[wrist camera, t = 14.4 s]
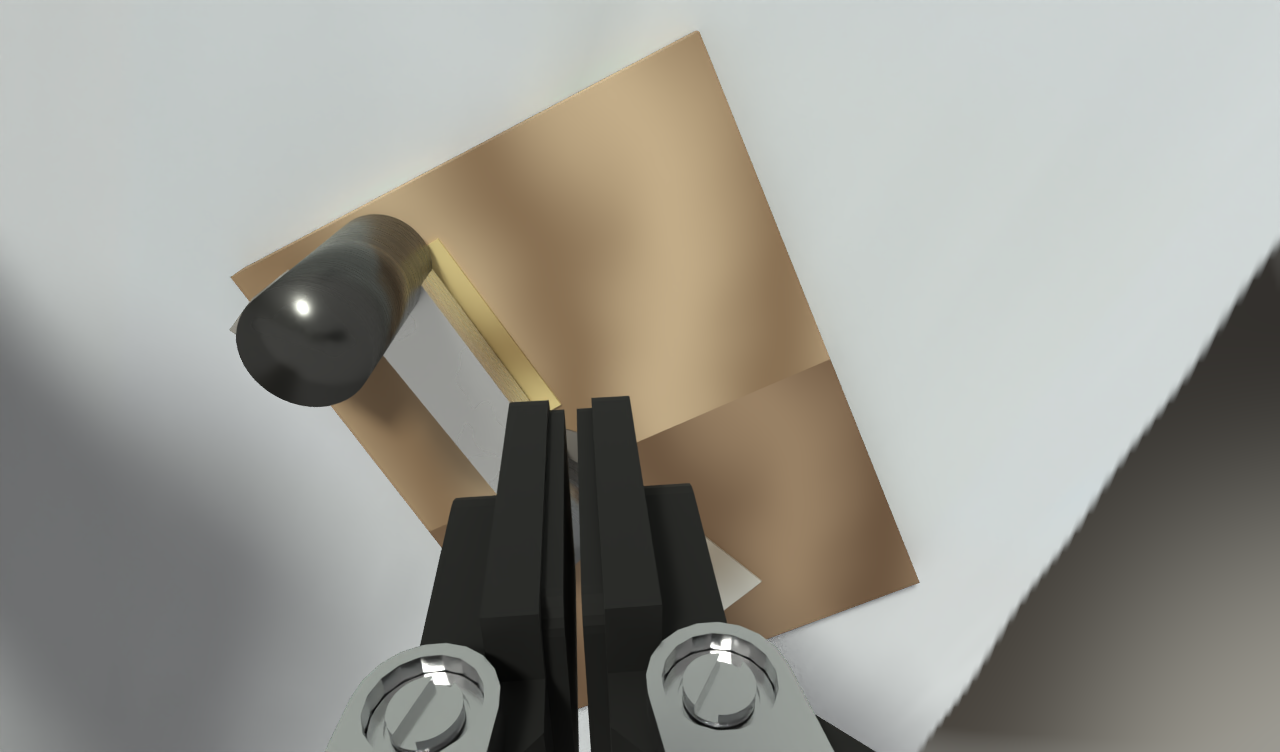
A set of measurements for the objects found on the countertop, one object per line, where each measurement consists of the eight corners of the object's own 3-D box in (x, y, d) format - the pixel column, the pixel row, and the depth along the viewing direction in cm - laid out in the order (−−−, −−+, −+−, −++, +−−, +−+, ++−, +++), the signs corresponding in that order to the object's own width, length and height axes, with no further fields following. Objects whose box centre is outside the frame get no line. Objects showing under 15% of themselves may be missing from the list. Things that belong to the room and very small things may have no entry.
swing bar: (607, 491, 25) (606, 624, 19) (538, 526, 25) (519, 664, 20) (390, 195, 20) (311, 262, 15) (311, 245, 21) (206, 328, 15)
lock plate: (570, 695, 31) (566, 765, 28) (242, 268, 22) (188, 306, 19) (911, 568, 28) (945, 630, 26) (695, 30, 20) (710, 34, 17)
